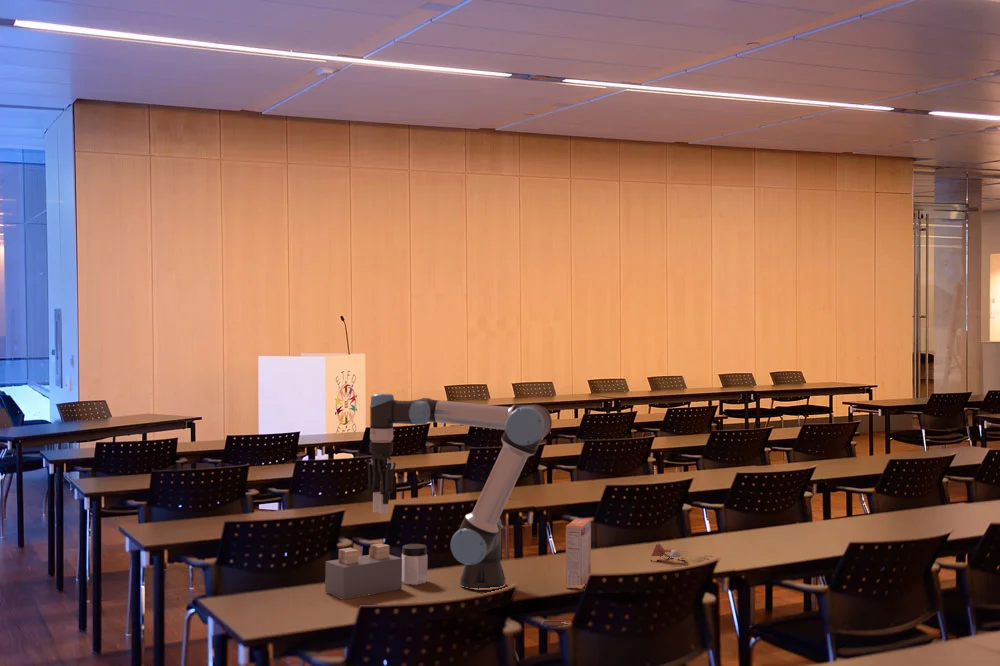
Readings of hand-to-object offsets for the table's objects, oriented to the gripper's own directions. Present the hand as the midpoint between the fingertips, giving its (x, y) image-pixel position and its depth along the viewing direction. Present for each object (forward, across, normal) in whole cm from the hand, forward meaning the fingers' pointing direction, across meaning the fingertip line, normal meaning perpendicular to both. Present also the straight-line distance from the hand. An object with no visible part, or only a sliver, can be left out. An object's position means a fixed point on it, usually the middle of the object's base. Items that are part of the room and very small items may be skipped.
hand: (380, 512), depth 331 cm
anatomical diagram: (+25, +34, +115) cm, 122 cm away
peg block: (+25, 0, -6) cm, 25 cm away
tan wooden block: (+19, 0, -12) cm, 22 cm away
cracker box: (+25, +36, +56) cm, 71 cm away
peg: (+19, 0, 0) cm, 19 cm away
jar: (+25, 0, +14) cm, 28 cm away
